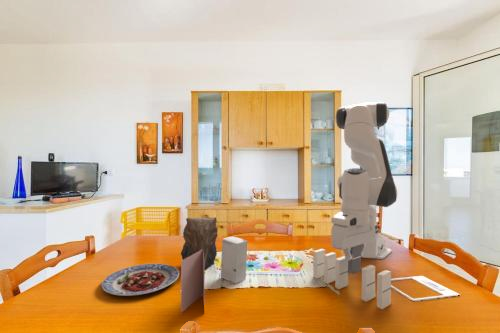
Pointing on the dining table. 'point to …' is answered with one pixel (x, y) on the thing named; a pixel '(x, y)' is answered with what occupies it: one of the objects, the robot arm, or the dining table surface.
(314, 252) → the domino
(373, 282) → the domino
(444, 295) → the photo frame
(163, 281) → the ceramic plate
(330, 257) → the domino
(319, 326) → the dining table surface
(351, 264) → the domino
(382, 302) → the domino
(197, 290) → the greeting card
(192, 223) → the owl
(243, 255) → the skincare box
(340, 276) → the domino
